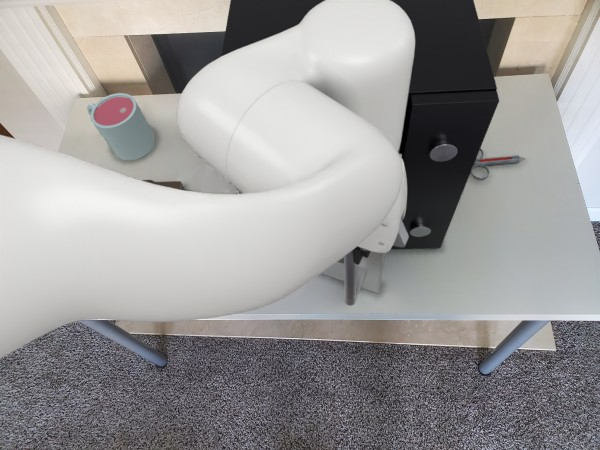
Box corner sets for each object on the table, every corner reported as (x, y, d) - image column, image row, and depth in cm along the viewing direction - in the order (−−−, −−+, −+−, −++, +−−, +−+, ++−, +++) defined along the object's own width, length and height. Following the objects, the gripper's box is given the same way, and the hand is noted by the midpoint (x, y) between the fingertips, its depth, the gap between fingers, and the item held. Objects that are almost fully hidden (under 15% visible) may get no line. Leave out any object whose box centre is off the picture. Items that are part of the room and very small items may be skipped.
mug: (164, 134, 96) (145, 100, 87) (137, 166, 92) (115, 133, 84) (116, 116, 100) (94, 82, 92) (89, 145, 97) (64, 112, 88)
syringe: (538, 177, 82) (542, 171, 80) (440, 185, 83) (441, 180, 82) (526, 144, 86) (529, 138, 84) (432, 153, 87) (433, 147, 85)
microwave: (440, 253, 76) (501, 104, 46) (262, 255, 79) (210, 118, 49) (421, 120, 91) (458, -58, 61) (272, 126, 94) (237, -40, 64)
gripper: (249, 157, 38) (279, 252, 54) (431, 220, 33) (404, 303, 49) (288, 96, 41) (306, 203, 57) (460, 146, 36) (426, 247, 52)
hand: (351, 249), depth 53 cm, fingers closed, pressing on microwave door
